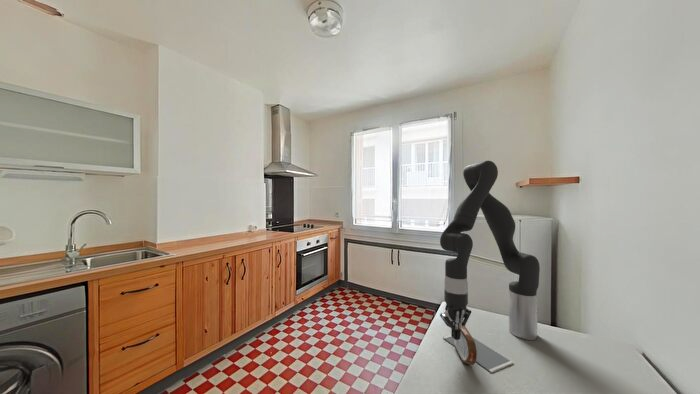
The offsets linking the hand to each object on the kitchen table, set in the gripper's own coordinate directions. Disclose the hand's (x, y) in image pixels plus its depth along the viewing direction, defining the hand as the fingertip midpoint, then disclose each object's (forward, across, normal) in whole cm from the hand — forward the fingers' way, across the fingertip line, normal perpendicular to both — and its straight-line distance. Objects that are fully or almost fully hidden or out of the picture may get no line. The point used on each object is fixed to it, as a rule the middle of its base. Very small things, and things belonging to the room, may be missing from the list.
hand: (455, 338), depth 82 cm
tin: (+6, -2, 0) cm, 6 cm away
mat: (+6, -10, 0) cm, 12 cm away
